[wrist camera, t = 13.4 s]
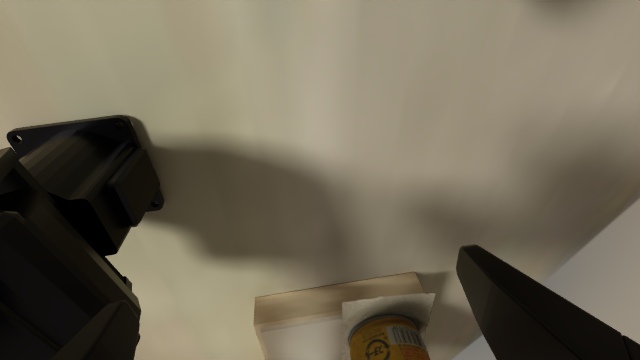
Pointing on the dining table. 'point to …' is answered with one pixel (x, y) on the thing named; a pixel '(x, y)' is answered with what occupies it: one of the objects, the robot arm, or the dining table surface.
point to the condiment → (386, 327)
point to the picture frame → (317, 316)
